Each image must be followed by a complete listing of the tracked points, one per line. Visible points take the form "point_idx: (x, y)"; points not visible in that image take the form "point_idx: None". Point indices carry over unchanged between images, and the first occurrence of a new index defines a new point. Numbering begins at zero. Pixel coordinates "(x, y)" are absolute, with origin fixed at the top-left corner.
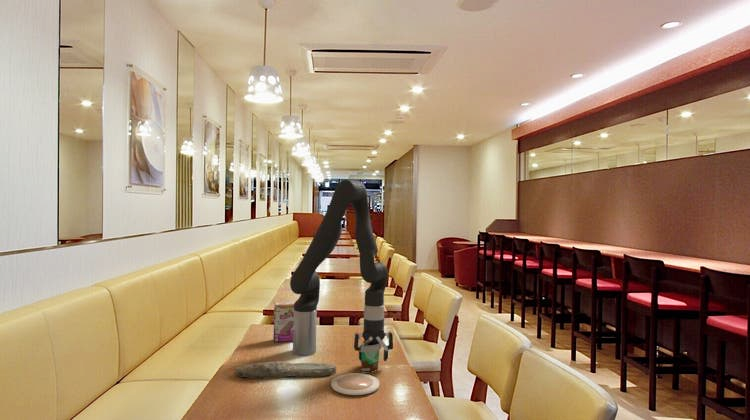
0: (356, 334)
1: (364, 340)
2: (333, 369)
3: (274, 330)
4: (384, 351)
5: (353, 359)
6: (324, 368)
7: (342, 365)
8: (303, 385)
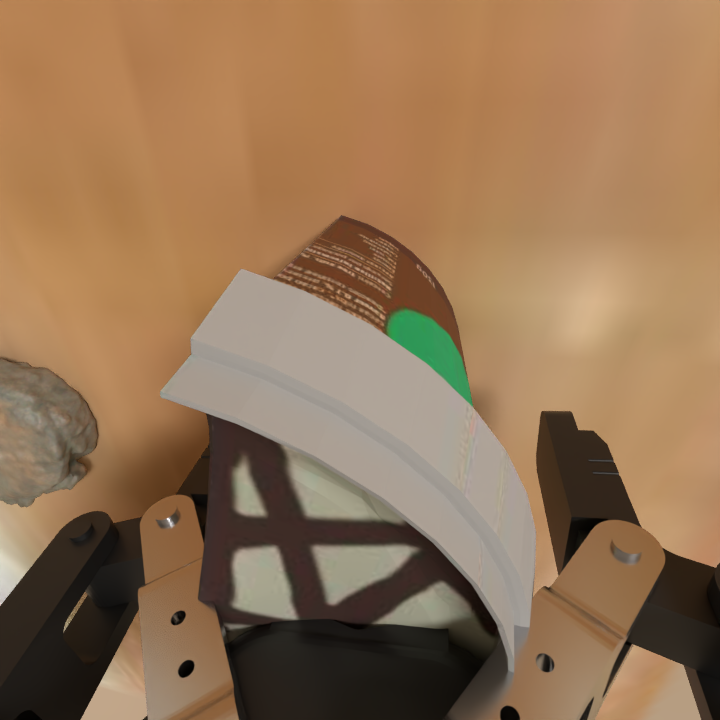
0: None
1: (157, 661)
2: (68, 471)
3: None
4: (559, 574)
5: (138, 31)
6: (4, 499)
7: (85, 264)
8: (10, 543)
